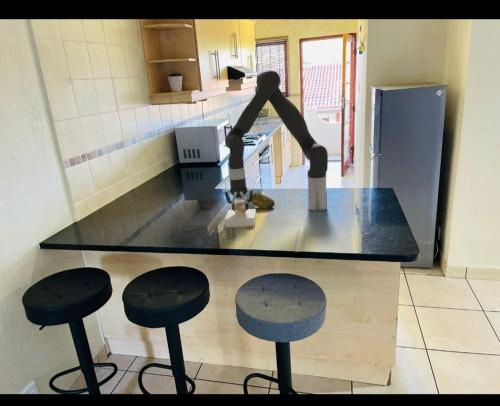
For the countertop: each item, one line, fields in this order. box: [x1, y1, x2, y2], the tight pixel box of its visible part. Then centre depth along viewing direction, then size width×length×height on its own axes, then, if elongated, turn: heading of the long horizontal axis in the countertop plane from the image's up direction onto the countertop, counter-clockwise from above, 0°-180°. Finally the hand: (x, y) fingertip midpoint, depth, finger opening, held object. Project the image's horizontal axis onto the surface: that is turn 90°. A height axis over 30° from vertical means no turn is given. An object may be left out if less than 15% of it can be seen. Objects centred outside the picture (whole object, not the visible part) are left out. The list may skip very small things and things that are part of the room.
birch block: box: [234, 199, 246, 214], centre depth 183 cm, size 5×5×5 cm
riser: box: [224, 208, 257, 228], centre depth 185 cm, size 14×13×4 cm
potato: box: [250, 192, 276, 210], centre depth 201 cm, size 8×13×8 cm, turn 52°
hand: (240, 210), depth 183 cm, fingers closed on birch block, 5 cm apart
